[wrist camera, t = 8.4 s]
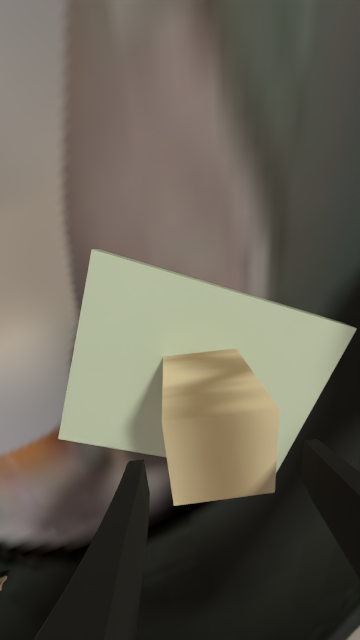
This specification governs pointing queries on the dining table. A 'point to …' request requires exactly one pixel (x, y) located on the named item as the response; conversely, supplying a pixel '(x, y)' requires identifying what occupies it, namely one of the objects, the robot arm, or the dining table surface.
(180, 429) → the maple block
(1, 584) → the bird sculpture
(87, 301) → the green tile
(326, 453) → the robot arm
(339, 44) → the dining table surface
